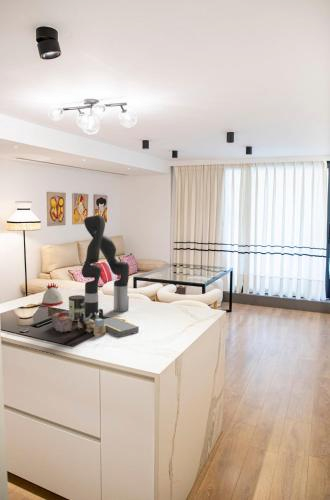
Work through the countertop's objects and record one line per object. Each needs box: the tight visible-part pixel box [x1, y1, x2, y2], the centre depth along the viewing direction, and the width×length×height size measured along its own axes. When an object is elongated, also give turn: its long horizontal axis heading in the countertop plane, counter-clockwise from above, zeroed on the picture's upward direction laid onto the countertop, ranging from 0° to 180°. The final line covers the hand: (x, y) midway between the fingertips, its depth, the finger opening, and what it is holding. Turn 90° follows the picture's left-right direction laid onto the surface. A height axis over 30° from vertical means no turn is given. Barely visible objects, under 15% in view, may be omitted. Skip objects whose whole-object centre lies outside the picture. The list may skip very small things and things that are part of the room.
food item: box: [51, 312, 73, 333], centre depth 207 cm, size 14×8×10 cm, turn 44°
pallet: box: [77, 319, 107, 337], centre depth 206 cm, size 6×20×5 cm, turn 43°
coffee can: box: [68, 294, 85, 322], centre depth 227 cm, size 10×10×14 cm
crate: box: [94, 318, 104, 327], centre depth 200 cm, size 4×4×4 cm
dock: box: [103, 316, 140, 337], centre depth 211 cm, size 13×24×3 cm, turn 43°
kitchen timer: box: [41, 282, 63, 307], centre depth 263 cm, size 14×14×15 cm
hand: (91, 328), depth 207 cm, fingers open, 8 cm apart
